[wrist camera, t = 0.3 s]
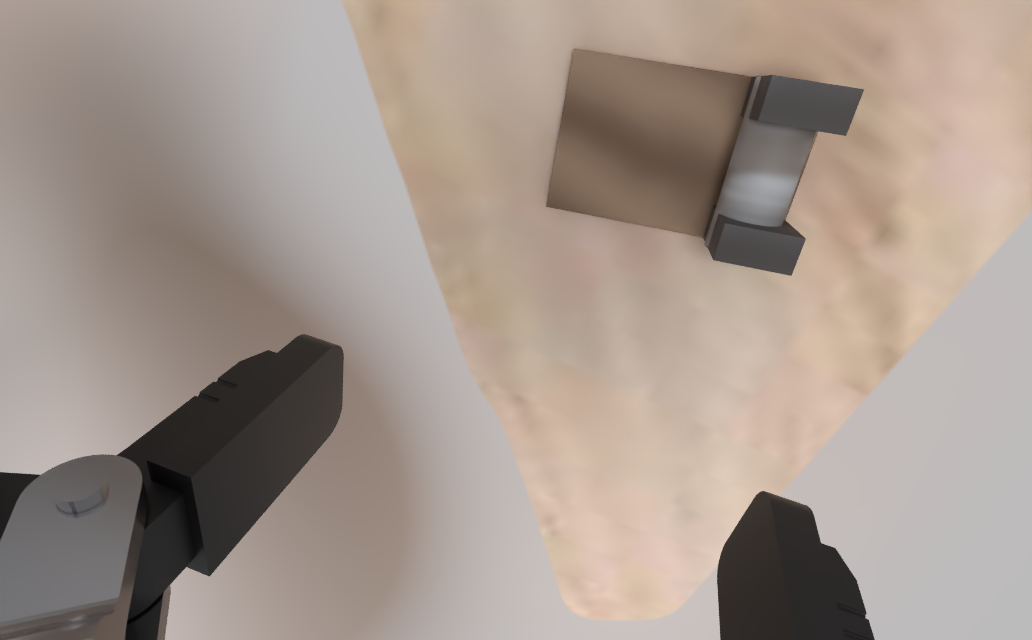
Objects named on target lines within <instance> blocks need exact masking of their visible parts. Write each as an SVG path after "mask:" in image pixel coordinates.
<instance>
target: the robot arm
mask: <svg viewBox="0 0 1032 640" xmlns="http://www.w3.org/2000/svg"><path fill="white" fill-rule="evenodd" d="M343 359H344V357H343V350H342V348H341V347H340V346H338V345H335V344H332V343H329V342H326V341H323V340H321V339H317V338H315V337H312V336H309V335H305V334H303V335H300V336H298V337H296V338H295V339H294V340H292V341H291V342H290V343H289V344H288V345H287V346H285V347H284V348H283V349H282V350H280V351H279V352H278V353H275V352H272V351H269V350H268V351H265V352H263V353H260V354H257V355H255V356H253V357H250V358H247V359H245V360H242V361H240V362H239V363H237V364H236V365H235V366H233V367H232V368H231V369H229V370H228V371H227V372H225V373H224V374H223V375H222V376H220V377H219V378H218V381H217V382H213V383H211V384H210V385H209V386H207V387H206V388H205V389H203V390H202V391H201V392H200V394H199V396H198V397H197V396H194V397H193V398H192V399H190V400H189V401H188V402H186V403H185V404H184V405H183V406H181V407H180V408H179V409H177V410H176V411H175V412H173V413H172V414H171V415H169V416H168V417H167V418H166V419H164V420H163V421H162V422H160V423H159V424H158V425H156V426H155V427H154V428H152V429H151V430H150V431H149V432H147V433H146V434H145V435H143V436H142V437H141V438H139V439H138V440H137V441H136V442H134V443H133V444H132V445H130V446H129V447H128V448H127V449H125V450H124V451H122V452H121V453H119V454H118V455H116V456H115V455H91V456H86V457H81V458H77V459H74V460H70V461H68V462H65V463H62V464H60V465H58V466H56V467H54V468H52V469H50V470H48V471H47V472H45V473H43V474H42V475H34V474H33V475H32V474H19V473H2V472H0V640H165V633H166V625H167V616H168V609H169V601H170V594H171V590H170V589H171V587H170V584H171V583H172V582H173V581H174V580H175V578H176V577H177V576H178V575H179V574H180V573H181V572H182V571H183V570H184V569H185V568H186V567H188V568H190V569H193V570H195V571H198V572H200V573H202V574H205V575H208V576H210V575H211V574H212V573H213V572H214V570H215V569H216V568H217V567H218V566H219V565H220V563H221V562H222V561H223V560H224V559H225V558H226V557H227V555H228V554H229V553H230V552H231V551H232V549H233V548H234V547H235V546H236V545H237V544H238V543H239V541H240V540H241V539H242V538H243V537H244V535H245V534H246V533H247V532H248V531H249V530H250V529H251V527H252V526H253V525H254V524H255V523H256V521H257V520H258V519H259V518H260V517H261V516H262V514H263V513H264V512H265V511H266V510H267V508H268V507H269V506H270V505H271V504H272V503H273V502H274V500H275V499H276V498H277V497H278V496H279V495H280V493H281V492H282V491H283V490H284V489H285V488H286V486H287V485H288V484H289V483H290V482H291V480H292V479H293V478H294V477H295V476H296V474H298V472H299V471H300V470H301V469H302V467H303V466H304V465H305V464H306V463H307V462H308V461H309V459H310V458H311V457H312V456H313V455H314V454H315V452H316V451H317V450H318V449H319V448H320V447H321V445H322V444H323V443H324V442H325V441H326V440H327V438H328V437H329V436H330V435H331V433H332V432H333V430H334V428H335V426H336V424H337V422H338V420H339V417H340V413H341V410H342V393H343V392H342V391H343ZM717 573H718V574H717V584H718V601H719V619H720V637H721V640H874V636H873V633H872V630H871V627H870V623H869V620H868V619H866V618H865V615H866V610H865V607H864V603H863V600H862V597H861V594H860V590H859V587H858V584H857V580H856V579H855V577H854V576H853V574H852V573H851V571H850V570H849V568H848V567H847V565H846V564H845V562H844V561H843V559H842V558H841V556H840V555H839V553H838V552H837V550H836V549H835V548H833V547H830V546H827V545H824V544H822V543H821V542H820V538H819V534H818V530H817V526H816V522H815V518H814V515H813V512H812V510H811V509H810V508H809V507H808V506H806V505H803V504H800V503H797V502H794V501H792V500H789V499H786V498H783V497H780V496H777V495H774V494H771V493H768V492H765V491H762V492H760V493H758V494H757V495H756V497H755V498H754V499H753V501H752V502H751V504H750V506H749V507H748V509H747V510H746V512H745V513H744V515H743V516H742V518H741V520H740V521H739V523H738V524H737V526H736V527H735V529H734V530H733V532H732V534H731V535H730V537H729V538H728V540H727V541H726V543H725V545H724V547H723V550H722V552H721V556H720V560H719V564H718V572H717Z"/></svg>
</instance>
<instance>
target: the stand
mask: <svg viewBox="0 0 1032 640" xmlns="http://www.w3.org/2000/svg"><path fill="white" fill-rule="evenodd" d="M863 91H864V89H857V88H851V87H845V86H838V85H832V84H826V83H819V82H813V81H806V80H800V79H794V78H787V77H781V76H775V75H769V76H756V77H749V76H743V75H737V74H730V73H724V72H718V71H712V70H705V69H699V68H693V67H686V66H680V65H674V64H667V63H661V62H655V61H648V60H642V59H636V58H630V57H623V56H617V55H611V54H604V53H598V52H592V51H585V50H579V49H574V50H573V56H572V62H571V68H570V73H569V79H568V85H567V90H566V96H565V102H564V108H563V113H562V119H561V125H560V131H559V136H558V142H557V148H556V154H555V159H554V165H553V171H552V177H551V182H550V188H549V194H548V200H547V205H546V207H551V208H556V209H562V210H567V211H572V212H577V213H582V214H587V215H592V216H597V217H602V218H607V219H613V220H618V221H623V222H628V223H633V224H638V225H643V226H648V227H653V228H658V229H664V230H669V231H674V232H679V233H684V234H689V235H694V236H699V237H703V238H704V240H705V246H706V247H708V249H709V251H710V254H711V256H712V258H713V260H716V261H721V262H726V263H731V264H736V265H741V266H746V267H751V268H756V269H760V270H765V271H770V272H775V273H780V274H785V275H790V276H791V275H792V273H793V270H794V268H795V265H796V263H797V260H798V257H799V255H800V252H801V250H802V247H803V245H804V242H805V238H804V237H803V236H802V235H801V234H800V233H799V232H798V231H796V230H795V229H794V228H793V227H792V226H791V225H790V224H789V223H787V222H786V221H785V220H786V217H787V215H788V212H789V209H790V206H791V204H792V201H793V198H794V196H795V193H796V190H797V187H798V185H799V182H800V179H801V176H802V174H803V171H804V168H805V166H806V163H807V160H808V157H809V155H810V152H811V149H812V147H813V144H814V141H815V138H816V136H817V133H818V131H820V132H826V133H832V134H838V135H844V136H846V134H847V132H848V129H849V127H850V124H851V122H852V119H853V116H854V114H855V111H856V109H857V106H858V104H859V101H860V99H861V96H862V93H863Z"/></svg>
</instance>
